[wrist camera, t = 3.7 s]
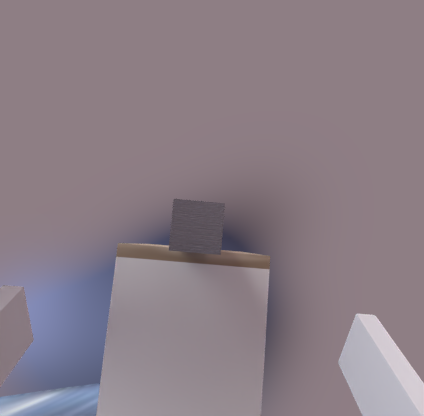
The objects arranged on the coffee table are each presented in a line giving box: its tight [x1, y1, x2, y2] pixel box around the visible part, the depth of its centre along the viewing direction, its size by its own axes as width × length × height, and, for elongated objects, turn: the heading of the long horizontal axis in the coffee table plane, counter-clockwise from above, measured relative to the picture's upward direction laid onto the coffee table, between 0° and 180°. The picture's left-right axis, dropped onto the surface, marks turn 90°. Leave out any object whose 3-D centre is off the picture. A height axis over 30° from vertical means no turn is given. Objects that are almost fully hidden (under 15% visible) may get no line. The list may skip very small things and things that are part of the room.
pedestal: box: [96, 243, 270, 416], centre depth 32 cm, size 16×14×30 cm
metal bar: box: [169, 199, 225, 255], centre depth 30 cm, size 26×3×3 cm, turn 3°
